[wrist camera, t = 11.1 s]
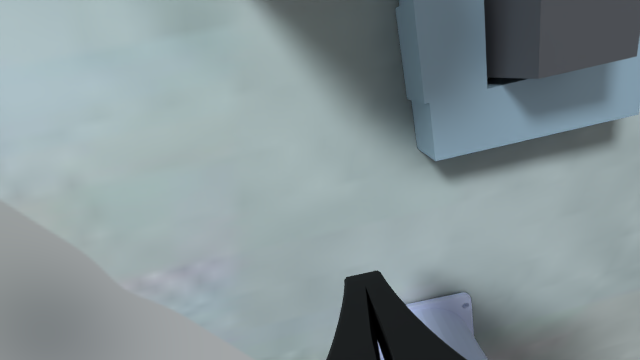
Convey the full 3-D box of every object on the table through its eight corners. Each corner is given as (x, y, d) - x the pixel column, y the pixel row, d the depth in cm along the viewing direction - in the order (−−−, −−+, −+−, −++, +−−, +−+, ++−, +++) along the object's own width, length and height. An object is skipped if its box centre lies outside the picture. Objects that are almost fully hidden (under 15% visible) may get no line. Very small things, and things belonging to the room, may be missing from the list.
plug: (533, 61, 18) (636, 56, 12) (467, 76, 18) (538, 78, 12) (535, -15, 17) (652, -60, 11) (463, 2, 17) (542, -33, 11)
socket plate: (593, 106, 19) (643, 113, 16) (413, 149, 19) (431, 162, 17) (611, -122, 15) (681, -167, 12) (386, -61, 16) (403, -90, 13)
